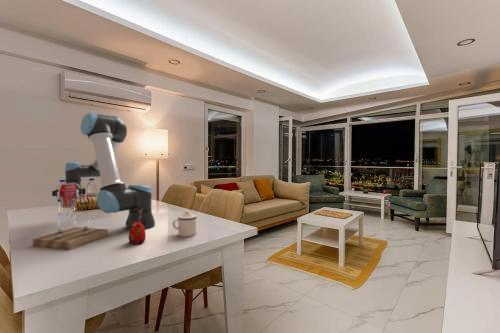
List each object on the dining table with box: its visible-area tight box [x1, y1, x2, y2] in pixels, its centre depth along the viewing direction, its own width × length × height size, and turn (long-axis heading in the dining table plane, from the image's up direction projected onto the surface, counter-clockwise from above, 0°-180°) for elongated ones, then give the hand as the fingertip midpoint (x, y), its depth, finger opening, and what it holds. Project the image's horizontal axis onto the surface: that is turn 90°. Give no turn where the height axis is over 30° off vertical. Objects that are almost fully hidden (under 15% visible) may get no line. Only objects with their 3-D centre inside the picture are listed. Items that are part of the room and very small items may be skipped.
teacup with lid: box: [172, 210, 197, 238], centre depth 127 cm, size 12×9×12 cm
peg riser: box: [32, 225, 109, 250], centre depth 117 cm, size 20×20×4 cm
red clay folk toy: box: [128, 210, 147, 245], centre depth 115 cm, size 8×7×15 cm
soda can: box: [59, 182, 78, 209], centre depth 130 cm, size 7×7×12 cm
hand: (67, 194), depth 125 cm, fingers closed on soda can, 7 cm apart
